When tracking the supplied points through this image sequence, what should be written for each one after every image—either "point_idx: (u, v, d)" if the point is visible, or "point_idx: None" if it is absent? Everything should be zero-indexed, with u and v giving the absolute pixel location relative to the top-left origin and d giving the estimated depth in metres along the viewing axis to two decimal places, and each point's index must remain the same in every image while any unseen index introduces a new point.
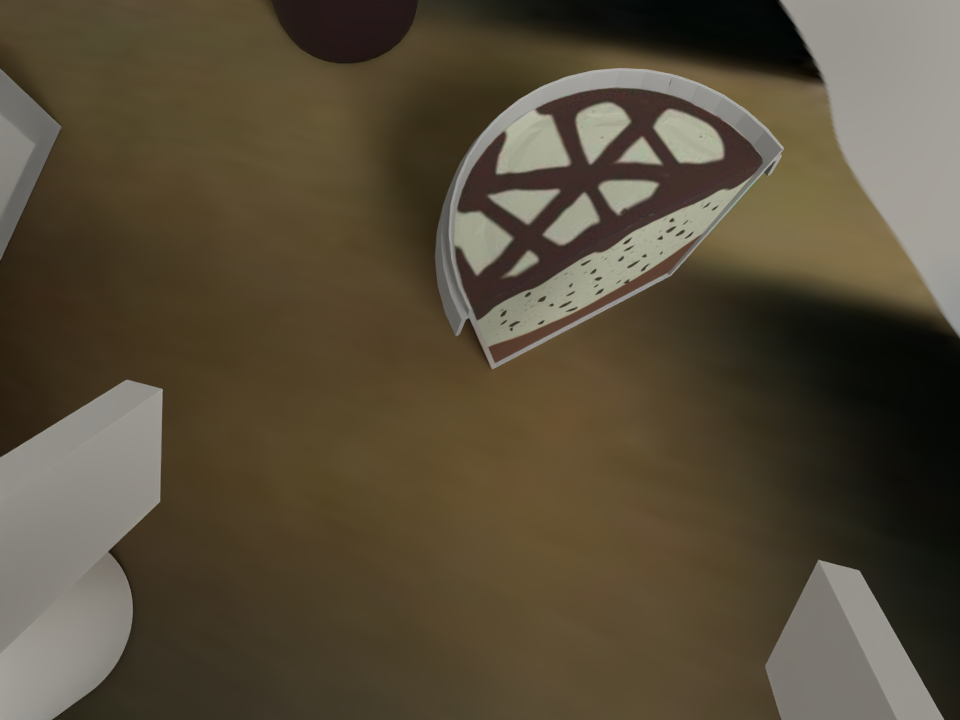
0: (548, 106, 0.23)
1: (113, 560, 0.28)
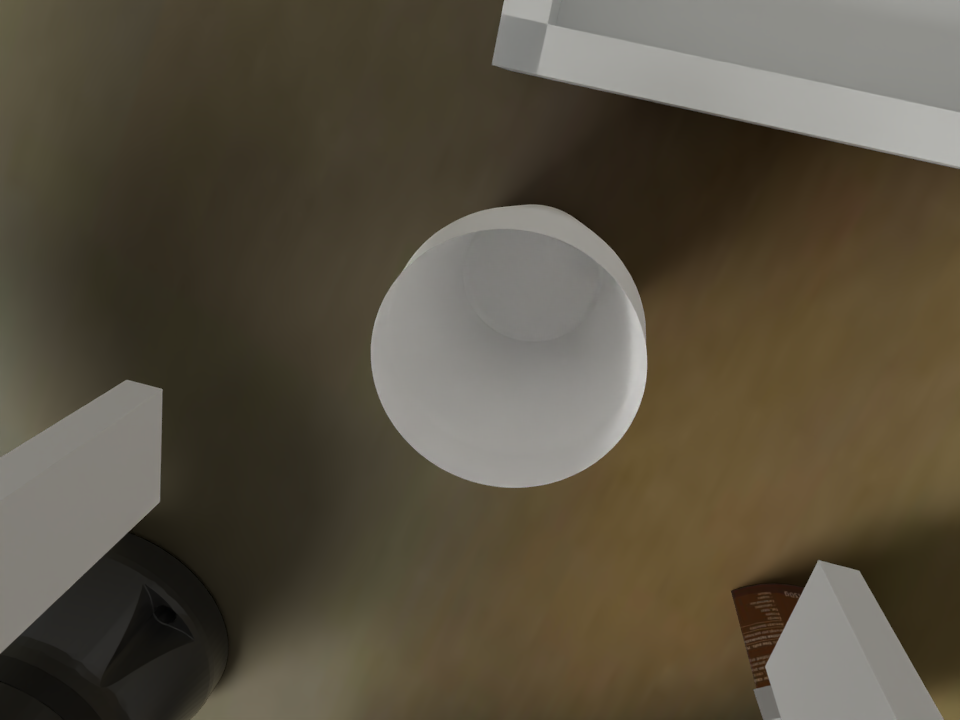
0: None
1: (581, 325, 0.32)
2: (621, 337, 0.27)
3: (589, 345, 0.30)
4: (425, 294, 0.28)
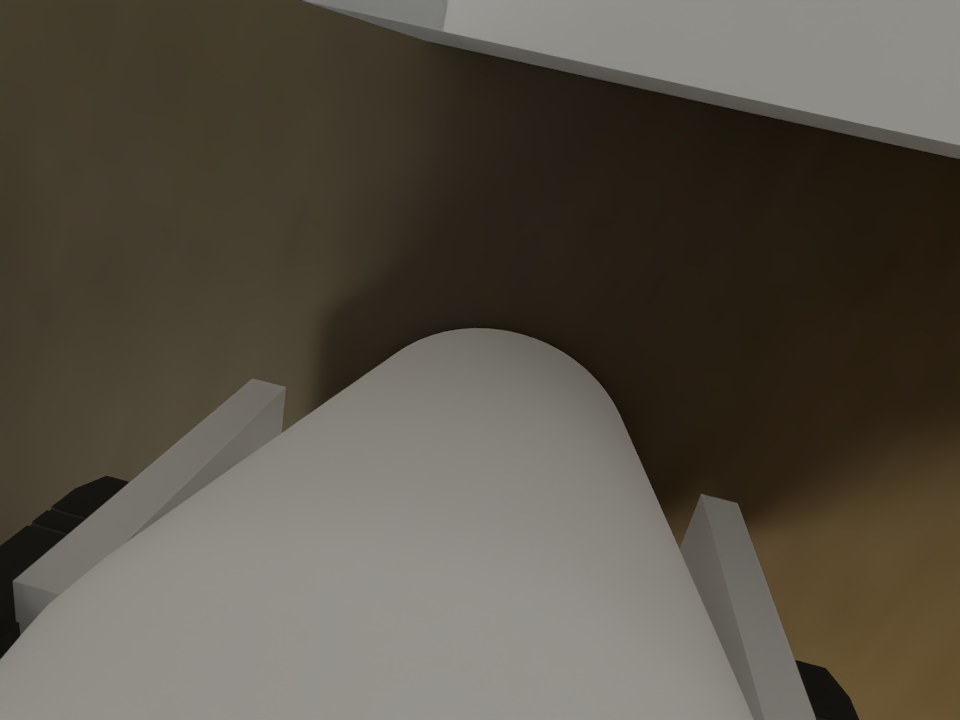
0: None
1: None
2: None
3: None
4: None
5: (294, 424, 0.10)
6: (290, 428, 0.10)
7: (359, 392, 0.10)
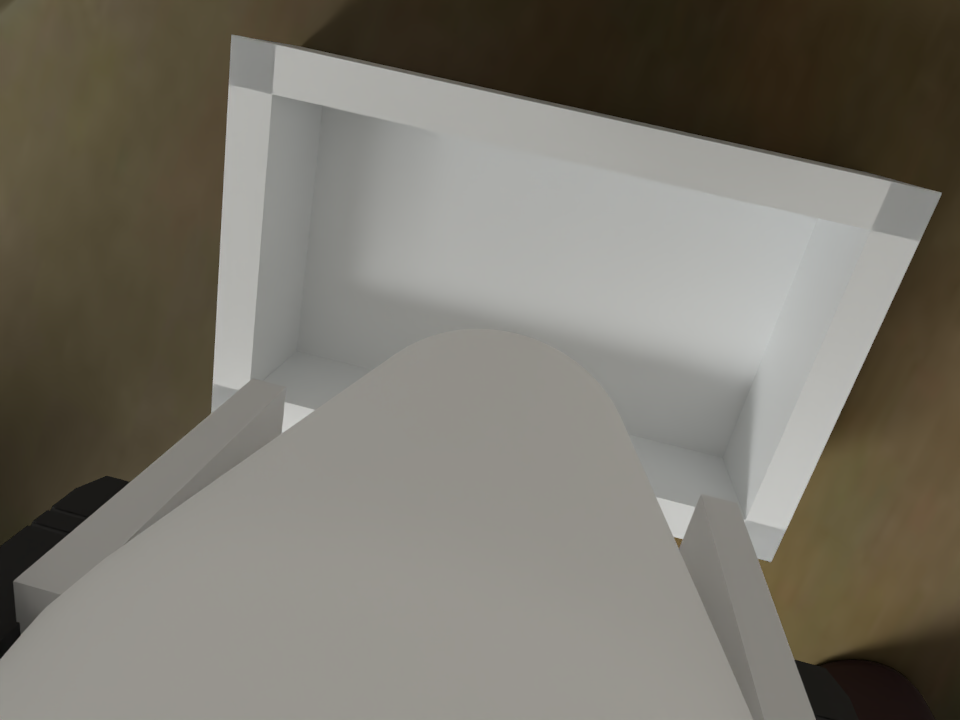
0: None
1: None
2: None
3: None
4: None
5: (293, 425, 0.10)
6: (289, 429, 0.10)
7: (358, 393, 0.10)
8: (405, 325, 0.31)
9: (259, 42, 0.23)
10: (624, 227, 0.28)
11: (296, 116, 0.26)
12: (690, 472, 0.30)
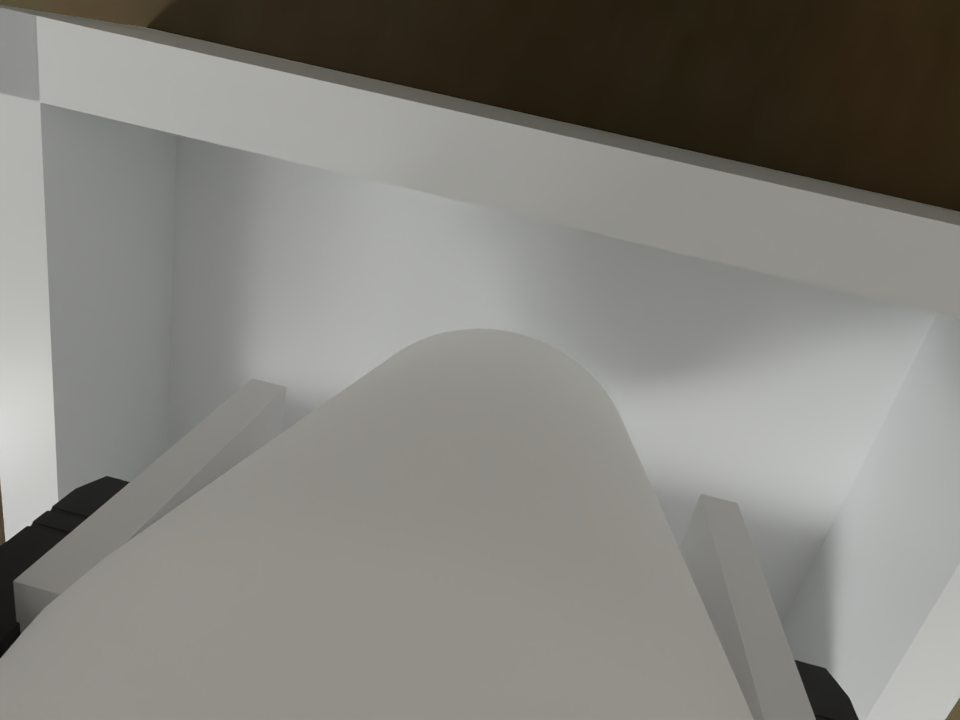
0: None
1: None
2: None
3: None
4: None
5: (293, 425, 0.10)
6: (289, 429, 0.10)
7: (358, 393, 0.10)
8: None
9: (7, 11, 0.13)
10: (639, 306, 0.18)
11: (114, 137, 0.16)
12: None
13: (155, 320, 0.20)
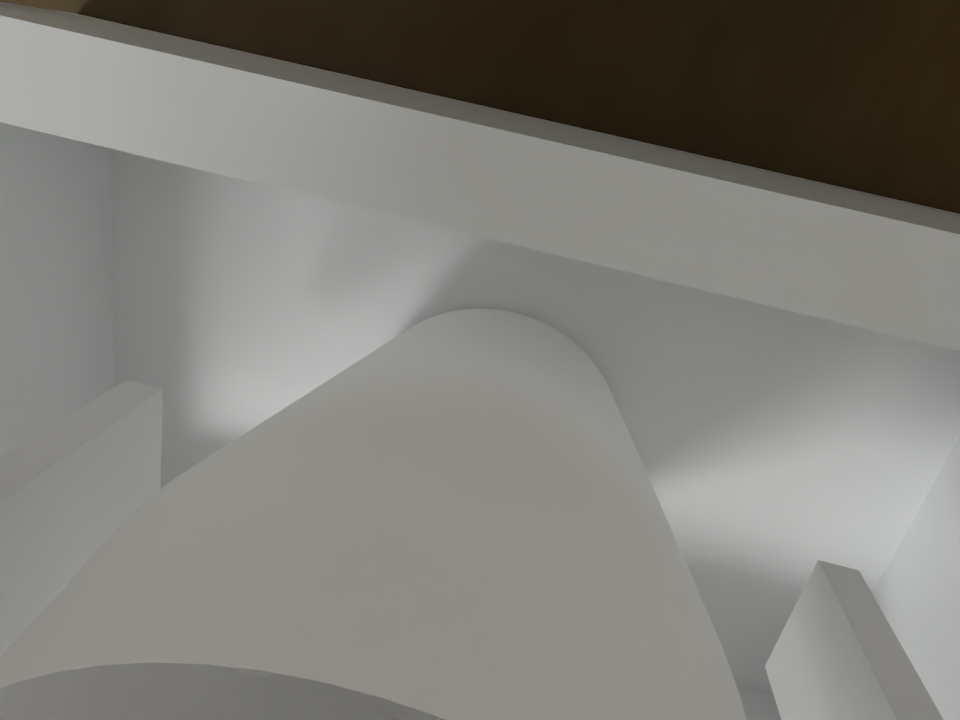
0: None
1: None
2: None
3: None
4: None
5: None
6: (315, 388, 0.11)
7: (375, 358, 0.12)
8: None
9: None
10: (652, 339, 0.16)
11: (24, 142, 0.13)
12: None
13: (92, 352, 0.17)
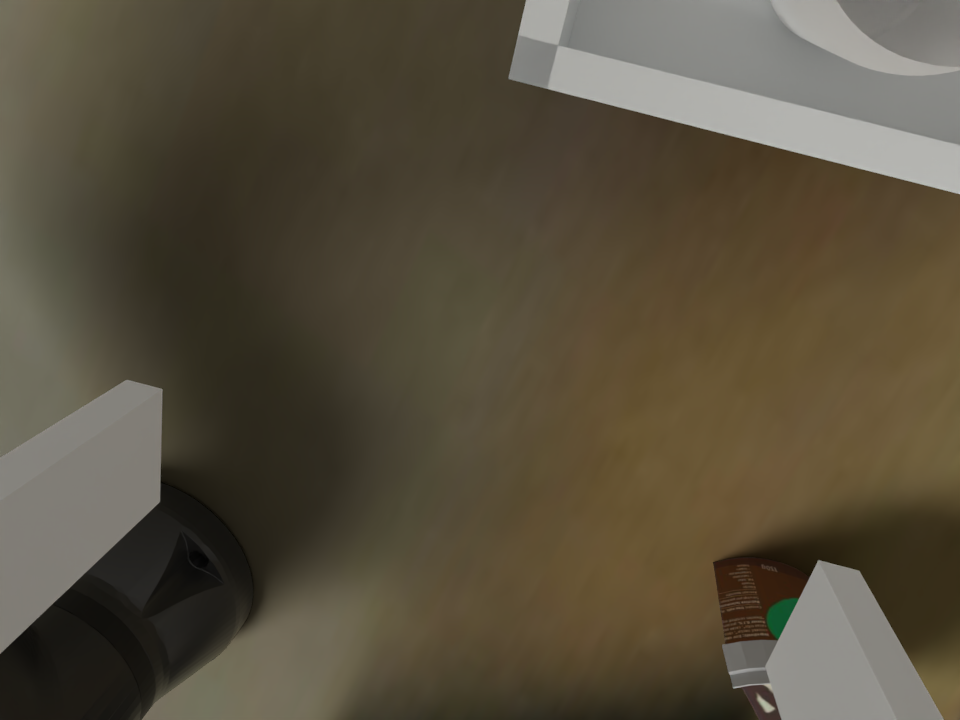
0: None
1: (906, 20, 0.27)
2: None
3: (942, 17, 0.25)
4: None
5: None
6: None
7: None
8: (697, 13, 0.29)
9: None
10: None
11: None
12: None
13: None
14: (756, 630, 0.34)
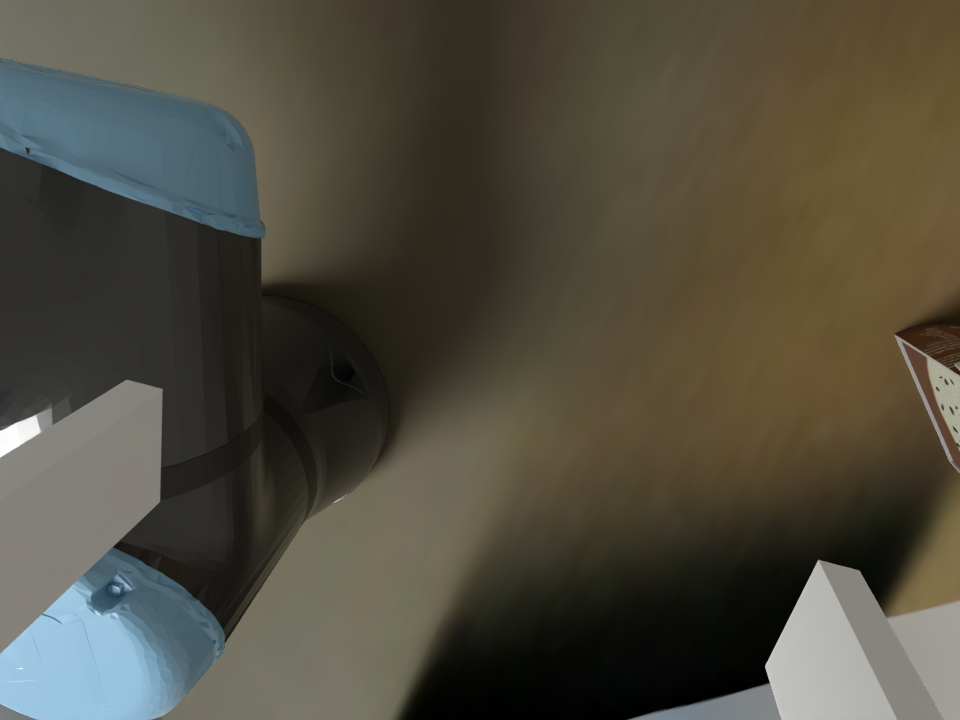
0: None
1: None
2: None
3: None
4: None
5: None
6: None
7: None
8: None
9: None
10: None
11: None
12: None
13: None
14: None
